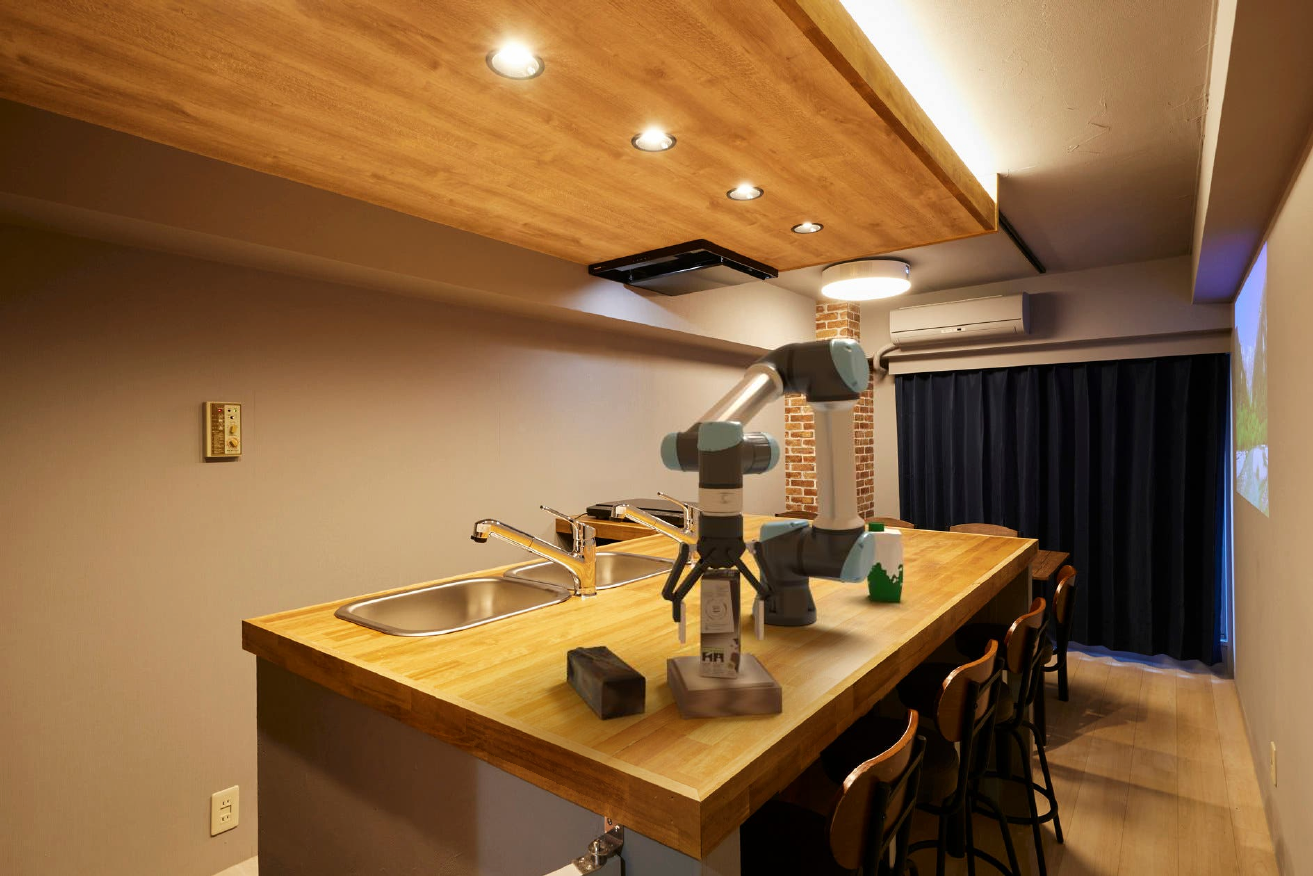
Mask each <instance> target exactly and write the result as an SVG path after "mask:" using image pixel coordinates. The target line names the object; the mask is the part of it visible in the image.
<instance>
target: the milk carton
mask: <svg viewBox="0 0 1313 876" xmlns="http://www.w3.org/2000/svg"><path fill="white" fill-rule="evenodd" d="M867 527H868V529H867V531H869V532H871V533H873V535H874V536H875V540H876V551H875V558H874V562H873V566H872V568H871V571H870V573H869V575H868V576H867V578H866V582H867V588H868V594H869V597H870V600H871V602H884V603H885V602H886V603H901V598H902V593H903V584H904V546H903V534H902V533H901V531H900V530H899V529H889V528H885V523H884V522H880V521H869V522H868V526H867Z"/></svg>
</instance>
